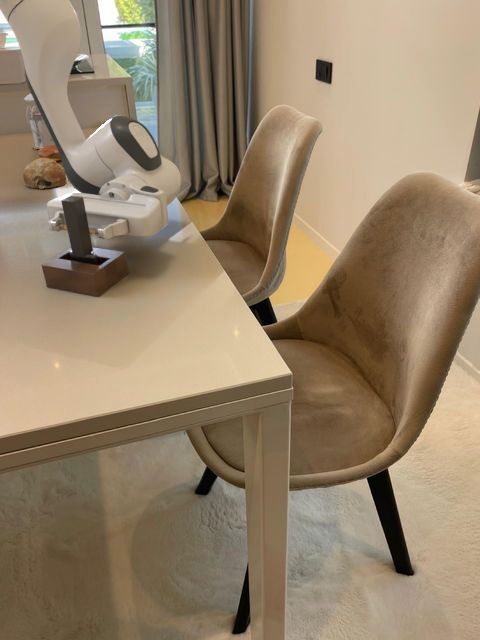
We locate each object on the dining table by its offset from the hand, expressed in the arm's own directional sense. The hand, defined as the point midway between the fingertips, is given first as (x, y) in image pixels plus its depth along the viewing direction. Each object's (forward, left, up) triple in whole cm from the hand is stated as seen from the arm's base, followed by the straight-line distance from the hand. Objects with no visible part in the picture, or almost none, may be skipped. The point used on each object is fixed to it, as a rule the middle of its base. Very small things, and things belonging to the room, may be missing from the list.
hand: (76, 230), depth 89 cm
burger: (-18, +75, -9) cm, 78 cm away
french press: (-25, +95, -9) cm, 99 cm away
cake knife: (0, 0, -9) cm, 9 cm away
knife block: (0, 0, -9) cm, 9 cm away
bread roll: (-18, +57, -9) cm, 61 cm away
